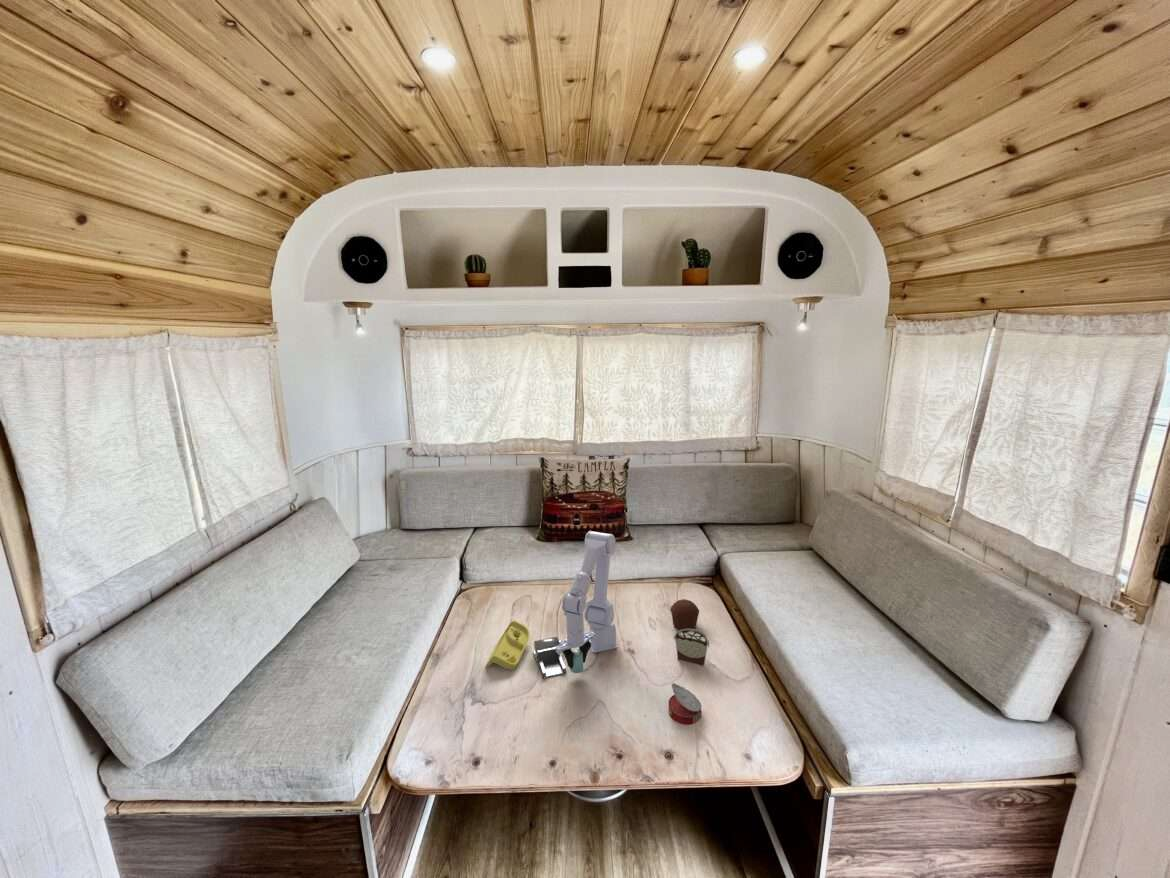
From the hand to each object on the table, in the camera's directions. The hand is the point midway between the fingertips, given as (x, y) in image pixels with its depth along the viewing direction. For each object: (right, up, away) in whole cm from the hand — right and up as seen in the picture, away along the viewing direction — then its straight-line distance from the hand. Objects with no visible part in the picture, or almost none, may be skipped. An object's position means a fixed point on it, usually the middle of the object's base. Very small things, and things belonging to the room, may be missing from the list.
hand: (576, 664), depth 165 cm
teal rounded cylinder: (0, -2, 0) cm, 2 cm away
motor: (-9, -3, +9) cm, 13 cm away
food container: (+41, -2, +9) cm, 42 cm away
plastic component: (-25, -3, +14) cm, 28 cm away
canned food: (+33, -8, -16) cm, 38 cm away
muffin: (+43, +2, +29) cm, 51 cm away
